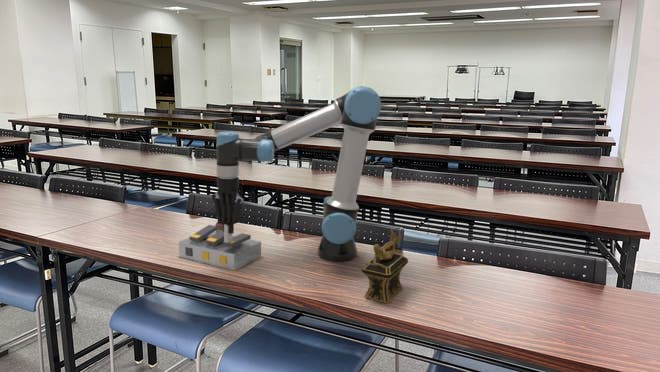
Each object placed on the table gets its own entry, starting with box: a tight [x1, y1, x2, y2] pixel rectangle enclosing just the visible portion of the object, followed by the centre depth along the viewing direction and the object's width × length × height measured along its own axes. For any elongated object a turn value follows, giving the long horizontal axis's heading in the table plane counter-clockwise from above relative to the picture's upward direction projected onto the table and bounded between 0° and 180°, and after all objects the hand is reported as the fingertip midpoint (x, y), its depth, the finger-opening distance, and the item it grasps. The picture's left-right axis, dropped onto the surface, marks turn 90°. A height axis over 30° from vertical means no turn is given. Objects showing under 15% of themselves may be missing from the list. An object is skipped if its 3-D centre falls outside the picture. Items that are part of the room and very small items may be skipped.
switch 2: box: [206, 230, 235, 246], centre depth 175 cm, size 4×11×2 cm, turn 153°
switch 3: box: [223, 232, 252, 248], centre depth 171 cm, size 4×11×2 cm, turn 153°
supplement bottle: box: [214, 220, 223, 233], centre depth 189 cm, size 6×6×11 cm
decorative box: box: [361, 228, 409, 304], centre depth 148 cm, size 20×10×20 cm, turn 151°
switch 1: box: [188, 224, 217, 242], centre depth 178 cm, size 4×11×2 cm, turn 153°
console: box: [178, 231, 262, 272], centre depth 176 cm, size 26×16×7 cm, turn 63°
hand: (228, 241), depth 167 cm, fingers closed
